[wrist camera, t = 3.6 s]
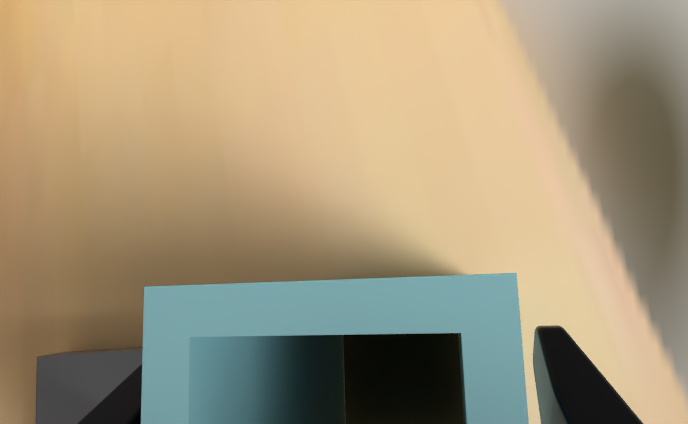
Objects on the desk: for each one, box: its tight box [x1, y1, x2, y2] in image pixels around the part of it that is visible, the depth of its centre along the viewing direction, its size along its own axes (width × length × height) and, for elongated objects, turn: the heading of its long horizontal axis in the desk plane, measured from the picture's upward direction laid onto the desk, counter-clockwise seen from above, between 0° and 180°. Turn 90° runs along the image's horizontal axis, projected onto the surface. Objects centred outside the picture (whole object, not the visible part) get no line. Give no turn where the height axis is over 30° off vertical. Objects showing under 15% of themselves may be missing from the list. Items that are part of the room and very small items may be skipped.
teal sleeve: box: [141, 273, 529, 424], centre depth 11 cm, size 5×5×10 cm
